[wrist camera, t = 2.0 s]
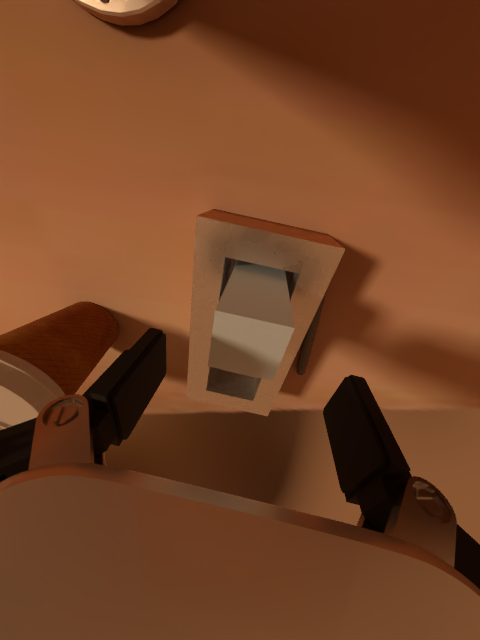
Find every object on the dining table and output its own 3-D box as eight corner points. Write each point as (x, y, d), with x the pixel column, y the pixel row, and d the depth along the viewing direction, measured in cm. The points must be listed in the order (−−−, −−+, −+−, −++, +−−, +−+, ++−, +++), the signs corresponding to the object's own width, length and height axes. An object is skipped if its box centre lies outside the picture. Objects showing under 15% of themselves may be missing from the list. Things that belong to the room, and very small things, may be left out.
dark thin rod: (321, 254, 18) (324, 257, 18) (333, 254, 18) (336, 257, 17) (295, 370, 27) (296, 376, 26) (303, 371, 26) (304, 377, 26)
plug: (240, 254, 18) (215, 310, 10) (283, 263, 18) (294, 328, 10) (232, 298, 21) (206, 372, 12) (270, 307, 21) (270, 386, 12)
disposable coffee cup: (137, 355, 29) (66, 444, 19) (73, 344, 29) (-29, 425, 19) (123, 296, 24) (16, 376, 14) (45, 282, 24) (-115, 351, 14)
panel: (213, 208, 17) (196, 215, 13) (327, 234, 17) (345, 249, 13) (198, 367, 29) (186, 397, 24) (267, 382, 29) (267, 416, 24)
